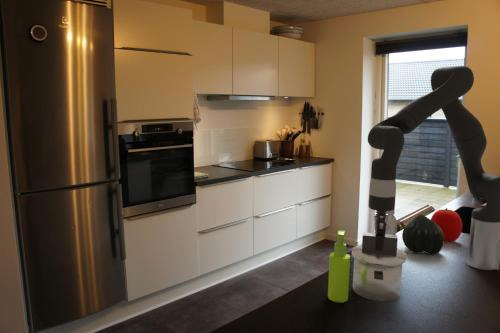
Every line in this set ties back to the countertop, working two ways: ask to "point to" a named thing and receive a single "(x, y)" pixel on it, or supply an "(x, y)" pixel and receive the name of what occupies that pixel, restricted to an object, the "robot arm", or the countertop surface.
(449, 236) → the tomato
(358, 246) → the cooker lid
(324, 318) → the countertop surface
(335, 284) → the soap dispenser
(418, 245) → the squash
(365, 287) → the cooker pot
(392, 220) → the plastic bottle
